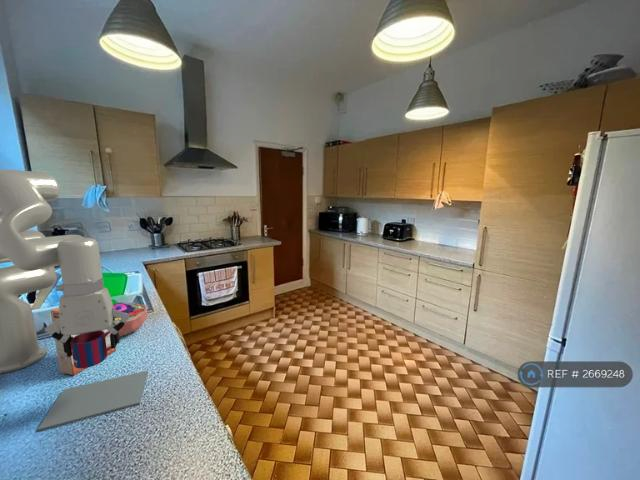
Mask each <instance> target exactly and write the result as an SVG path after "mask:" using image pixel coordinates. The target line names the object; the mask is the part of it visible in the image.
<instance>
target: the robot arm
mask: <svg viewBox="0 0 640 480" xmlns="http://www.w3.org/2000/svg"><path fill="white" fill-rule="evenodd" d="M61 191H62V190H61V185H60V184H59V181H58V180H57V179H56V178H55V177H54V176H53V175H51V174H49V173H47V172H43V171H35V170H34V171H31V170H14V169H0V264H7V263H12V264H13V265H8V266H3V267H0V374H5V373H10V372H14V371H17V370H21V369H24V368H27V367H30V366H31V365H34V364H35V363H37V362H39V361H41V360H43V358H45V356H47V349H46V348H45V347H41V346H39V341H38V335H37V330H36V325H35V324H36V323H35V320H34V319H35V318H34V314H33V313H34V312H33V309H32V306H31V305H30V304H29V303H28V302H27V301H25V300H22V299H20V298H18V297H19V296H22V295H26V294H29V293H32V292H37V291H42V290H45V289H47V288H51V287H52V286H53V285H54V284H55V283H56V280H57V275H56V274H57V273H56V268H55V267H58V266H59V268H60V275H61V281H62V283H61V284H58V285H56V286H55V291H57V292H58V291H59V292H62V295H60V297H59V304H58V307H59V319H58V320H56V321H55V322H53V323H50V324H48V325H47V326H46V327H45V328H44V331H45V332H46V333H47V334H49V335H50V336H51V338H53V339H54V340H55V339H57V340H59V341H60V343H63V347H64V352H65V353H67V357H71V356H72V350H71V343H70V341H71V339H72V338H73V337H71V335H77V334H83V333H89V332H95V331H101V330H105V329H107V330H108V331H109V332H111V334H110V342H111V348H112V349H114V348H115V347H116V348H117V345H118V344H119V343H120V339H119V330H120V329H121V328H122V327H123V326H124V324H125V323H126V321H127V320H128V318H129V316H130V315H129V314H127V313H124V312H121V311H118V310H114V307H113V305H114V304H113V300H112V297H111V294H110V292H109V290H108V288H107V287H105V284H104V278H103V270H102V264H101V263H102V262H101V256H100V247H99V243H98V241H97V240H96V239H94V238H93V237H83V236H82V235H80V234H66V235H65V234H63V235H54V236H45V234H44V233H42V232H41V231H39V230H36V229H35V230H34V229H33V228H35V227H37V226H39V225H41V224H44V223H45V222H46V221H47V220H49V219H50V218H51V217H52V214H53V209H52V207H51V205H50V204H49V202H52V201H56V200H57V199H58V198H59V197H60V195H61ZM115 317H118V318H121V321H120V322H119V323H118V324H116V323H115V322H114V320H115ZM59 325H60V330H57V328H56V327H57V326H59Z"/></svg>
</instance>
